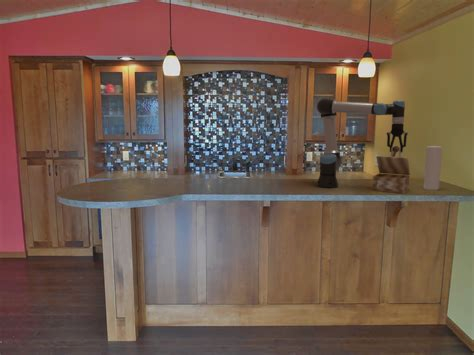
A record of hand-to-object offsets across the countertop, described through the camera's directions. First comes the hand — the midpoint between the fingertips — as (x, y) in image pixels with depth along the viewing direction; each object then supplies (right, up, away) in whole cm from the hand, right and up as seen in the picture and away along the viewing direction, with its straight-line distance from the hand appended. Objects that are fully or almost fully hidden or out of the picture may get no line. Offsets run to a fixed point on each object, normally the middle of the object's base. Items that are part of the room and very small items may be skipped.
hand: (395, 156), depth 244 cm
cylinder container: (+25, -23, -1) cm, 33 cm away
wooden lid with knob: (-4, -7, -5) cm, 9 cm away
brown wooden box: (-6, -23, -4) cm, 24 cm away
